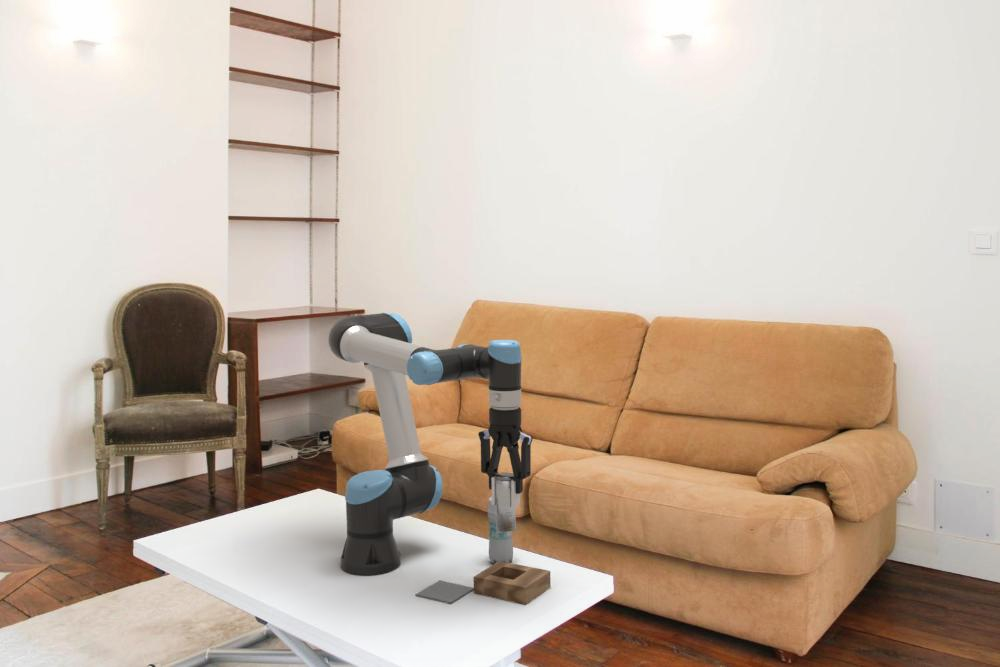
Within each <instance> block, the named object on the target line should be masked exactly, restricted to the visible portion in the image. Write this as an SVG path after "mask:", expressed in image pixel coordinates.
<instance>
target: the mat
mask: <svg viewBox="0 0 1000 667" xmlns="http://www.w3.org/2000/svg"><path fill="white" fill-rule="evenodd" d="M471 592H474V586H467V585H464V584H460V583H459V584H458V583H454V582H449V581H446V580H445V581H444V580H437V581H435V582H434V583H432V584H431V585H429V586H427V587H426V588H423V589H422V590H420V591H419V592H417V593H415V596H416V597H419V598H423V599H427V600H431V601H436V602H441V603H446V604H449V605H452V604H454V603H456V602H457V601H459V600H460V599H462V598H464V597H465V596H466V595H468V594H470V593H471Z"/></svg>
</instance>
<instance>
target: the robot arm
mask: <svg viewBox="0 0 1000 667" xmlns="http://www.w3.org/2000/svg"><path fill="white" fill-rule="evenodd" d="M328 346H329V348H330V351H331V352H332V353H333V354H334V355H335V356H336V358H338V359H340V360H343V361H346V362H348V363H353V364H356V363H357V364H358V363H361V362H363V365H364V368H365V369H366V370H367V371H369V372H370V374H371V377H372V381H373V385H374V386H373V387H374V391H375V395H376V401H377V405H378V409H379V415H380V420H381V425H382V430H383V435H384V439H385V446H386V450H387V456H388V461H387V464H386V465H385V468H384V469H375V470H374V469H373V470H367V471H366V470H365V471H362V472H359V473H357V474H354V475H353V476H351V477H349V479H348V481H347V483H346V485H345V495H344V496H345V497H344V499H345V512H346V533H347V534H346V539H345V542H344V546H343V550H342V554H341V557H340V568H341V569H342V570H343V571H344V572H346V573H348V574H353V575H358V576H360V575H361V576H371V575H373V576H374V575H380V574H384V573H389V572H392V571H394V570H396V569H398V568H399V567H400V565H401V559H402V558H401V553H400V551H399V547H398V544H397V542H396V539H395V535H394V527H393V526H394V520H398V519H402V518H406V517H409V516H413V515H417V514H423V513H425V512H427V511H430V510H432V509H434V508H436V506H437V505H438V504H439V503H440V500H441V499H442V496H443V488H444V487H443V486H444V485H443V479H442V476H441V473H440V471H438V469H437V467H435V466H434V465H431V464H430V462H429V458H428V457H426V455H424V454H422V452H421V451H422V450H421V446H420V442H419V436H418V431H417V427H416V426H417V425H416V422H415V417H414V412H413V406H412V402H411V397H410V393H409V389H408V382H407V378H406V376H408V378H409V380H411V381H412V383H413V384H415V385H418V386H424V385H425V386H431V385H435V384H440V383H446V382H453V381H459V380H460V381H462V380H466V379H472V378H473V379H474V378H476V379H477V378H478V379H485V380H488V404H489V406H490V408H489V409H488V423H489V426H488V429H484V430H481V431H479V432H478V438H479V440H480V471H481V473H482V474H486V475H487V477H488V488H489V490H491V497H492V505H496V474H499V473H500V472H499V471H498V470H499V466H500V461H501V455H502V453H503V452H502V451H503V448H506V451H507V452H508V455H509V459H510V465H511V470H512V473H513V475H514V479H513V480H511V508H518V507H519V506H520V505H521V494H522V493H523V492H524V491H523V490H524V482H523V481H524V479H527V478H528V477H531V472H532V471H531V466H532V465H531V461H532V460H531V459H532V457H531V453H532V452H531V449H532V448H531V447H532V446H531V445H532V442H533V440H534V437H533V435H528V434H525V433H524V432H523V430H522V408H521V407H520V406H522V352H521V351H522V349H521V343H520V342H519V341H518V340H515V339H494V340H491V341H489V342H488V346H480V345H475V344H472V343H471V344H459V345H457V346H456V347H454V348H453V347H452V348H444V349H432V348H429V347H425V346H421V345H418V344H414V343H413V334H412V330H411V328H410V326H409V324H408V322H407V320H406V319H404V318H403V317H402V316H401V315H400V314H397V313H393V312H392V313H391V312H390V313H387V312H382V313H381V312H380V313H373V314H372V313H371V314H361V315H349V316H346V317H343V318H340V319H339V320H338V321H336V323H335V324H334V325H333V326H332V328H331V329H330V331H329V333H328ZM491 439H492V440H493V442H492V445H491ZM519 440H520V444H521V445H520V446H519ZM491 446H492V447H491ZM519 447H520V448H519ZM519 450H520V451H519Z"/></svg>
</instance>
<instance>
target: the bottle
mask: <svg viewBox="0 0 1000 667" xmlns="http://www.w3.org/2000/svg"><path fill="white" fill-rule="evenodd" d="M486 510H487V517H488V524H489V526H488V533H489V534H488V536H489V537H488V538H489V540H488V558H489V560H490V562H491V563H492V565H494V564H495V563H497V562H499V561H503V562H508V563H512V561H513V558H514V542H513V531H508V532H504V531H499V530H497V529H496V505H492V496H490V497H489V498H488V506H487V509H486Z"/></svg>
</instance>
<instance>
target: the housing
mask: <svg viewBox="0 0 1000 667" xmlns="http://www.w3.org/2000/svg"><path fill="white" fill-rule="evenodd" d="M473 588H474V590H473V594H477V595H481V596H484V597H485V596H486V597H490V598H493V599H499V600H502V601H507V602H512V603H517V604H521V605H525V606H526V605H528V604H529V603H530V602H532V601H533V600H535V599H536V598H538V597H539V596H540V595H542V594H543V593H544V592H546V591H547V590H549V589H550V588H551V570H547V569H542V568H538V567H532V566H526V565H522V564H518V563H512V562H510V563H508V562H504V561H499V562H497V561H496V563H495V564H491V565H490V566H489V567H487V568H486V569H484V570H482V571H480V572H479V573H477V574H476V575H474V576H473ZM548 588H549V589H548ZM545 590H546V591H545Z"/></svg>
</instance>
